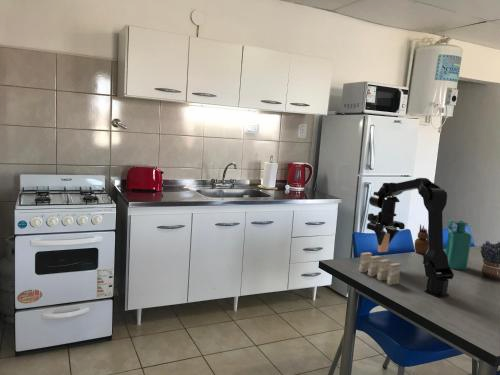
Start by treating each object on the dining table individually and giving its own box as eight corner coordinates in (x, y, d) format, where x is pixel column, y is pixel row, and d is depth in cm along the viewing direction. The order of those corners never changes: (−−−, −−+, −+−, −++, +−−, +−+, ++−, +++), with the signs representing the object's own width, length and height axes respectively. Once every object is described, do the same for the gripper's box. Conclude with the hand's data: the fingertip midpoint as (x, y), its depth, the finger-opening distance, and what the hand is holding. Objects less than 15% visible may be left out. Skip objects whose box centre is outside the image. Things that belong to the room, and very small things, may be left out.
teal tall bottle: (460, 265, 201) (467, 220, 198) (468, 270, 193) (475, 223, 190) (439, 262, 202) (446, 218, 199) (446, 268, 193) (453, 221, 190)
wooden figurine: (412, 253, 216) (416, 224, 214) (414, 250, 221) (417, 222, 219) (426, 255, 213) (430, 226, 211) (427, 253, 218) (431, 225, 216)
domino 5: (398, 283, 168) (400, 264, 167) (390, 284, 165) (392, 265, 164) (395, 282, 169) (397, 262, 168) (386, 283, 166) (389, 264, 165)
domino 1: (369, 271, 180) (371, 253, 179) (361, 272, 178) (363, 254, 176) (366, 270, 182) (369, 252, 180) (358, 271, 179) (360, 253, 178)
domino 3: (387, 251, 189) (390, 234, 188) (380, 252, 187) (382, 234, 186) (385, 250, 191) (387, 233, 190) (377, 251, 188) (379, 233, 187)
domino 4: (388, 279, 172) (390, 260, 171) (380, 280, 169) (382, 261, 168) (385, 277, 173) (387, 259, 172) (376, 279, 170) (379, 260, 169)
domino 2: (378, 275, 176) (381, 256, 175) (370, 276, 173) (372, 257, 172) (375, 273, 177) (378, 255, 176) (367, 275, 175) (369, 256, 174)
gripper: (387, 206, 198) (383, 238, 200) (359, 207, 188) (355, 241, 190) (407, 211, 188) (402, 244, 191) (378, 212, 179) (374, 248, 181)
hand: (383, 244), depth 188 cm, fingers closed on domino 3, 5 cm apart
